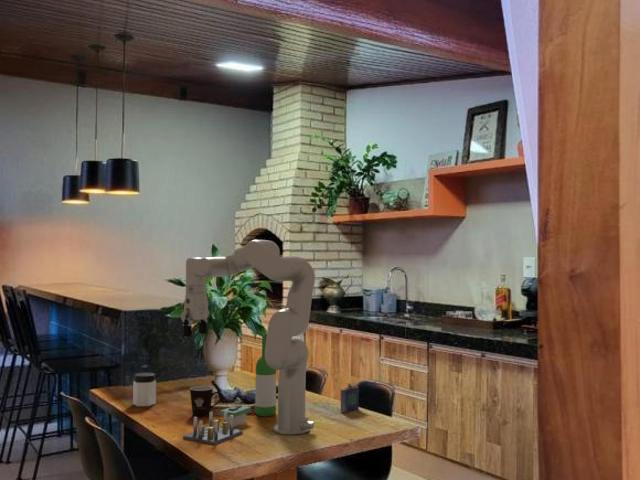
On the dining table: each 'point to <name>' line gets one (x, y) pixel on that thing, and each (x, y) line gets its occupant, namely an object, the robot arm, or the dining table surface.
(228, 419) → the stand
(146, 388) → the jar
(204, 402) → the coffee mug
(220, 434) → the vial rack
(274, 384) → the wine bottle
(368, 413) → the dining table surface
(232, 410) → the board
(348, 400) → the flask
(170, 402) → the dining table surface
